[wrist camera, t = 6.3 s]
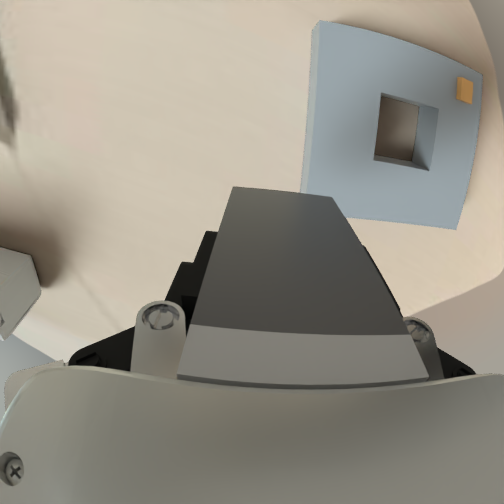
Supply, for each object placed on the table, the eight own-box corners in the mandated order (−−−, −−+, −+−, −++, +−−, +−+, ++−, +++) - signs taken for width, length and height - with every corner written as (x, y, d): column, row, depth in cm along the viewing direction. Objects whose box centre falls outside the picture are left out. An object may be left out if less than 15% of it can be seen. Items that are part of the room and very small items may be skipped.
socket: (312, 30, 21) (321, 17, 17) (461, 74, 21) (487, 74, 16) (299, 199, 30) (305, 217, 25) (439, 215, 29) (459, 233, 25)
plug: (233, 186, 13) (176, 373, 4) (331, 196, 13) (429, 376, 4) (228, 271, 15) (196, 459, 7) (314, 278, 15) (350, 461, 7)
